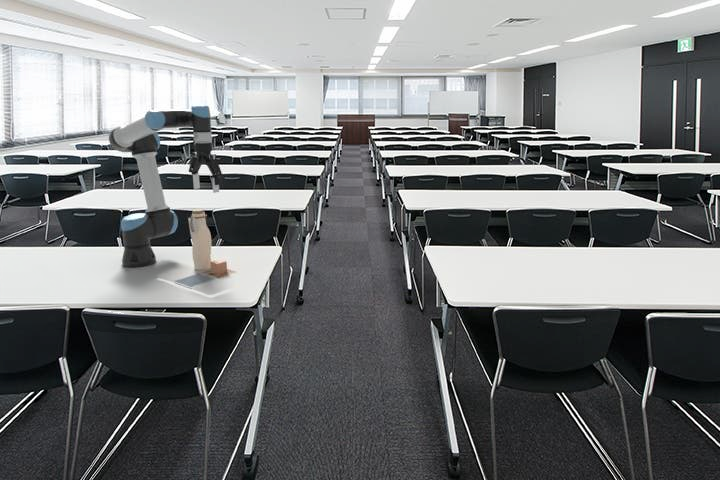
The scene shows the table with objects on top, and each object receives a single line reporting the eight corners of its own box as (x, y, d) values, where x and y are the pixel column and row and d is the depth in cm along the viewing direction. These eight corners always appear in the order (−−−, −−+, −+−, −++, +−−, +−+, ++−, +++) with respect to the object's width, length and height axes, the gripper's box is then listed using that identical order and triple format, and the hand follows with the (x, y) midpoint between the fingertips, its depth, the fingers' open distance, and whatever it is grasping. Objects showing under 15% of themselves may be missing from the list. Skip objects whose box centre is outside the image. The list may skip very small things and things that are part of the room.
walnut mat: (201, 274, 235) (201, 272, 234) (220, 268, 242) (219, 266, 242) (218, 279, 227) (218, 277, 227) (236, 273, 235) (236, 271, 235)
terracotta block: (211, 272, 234) (210, 261, 233) (220, 269, 238) (219, 259, 237) (218, 274, 231) (217, 263, 230) (227, 271, 235) (226, 261, 234)
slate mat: (174, 283, 224) (174, 281, 224) (198, 275, 233) (198, 273, 233) (191, 289, 217) (191, 286, 217) (214, 281, 226) (214, 278, 226)
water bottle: (206, 273, 236) (201, 213, 229) (188, 272, 238) (182, 212, 231) (217, 266, 246) (212, 208, 239) (199, 265, 248) (194, 207, 240)
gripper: (178, 140, 230) (182, 188, 236) (214, 144, 216) (217, 195, 221) (192, 139, 236) (196, 186, 242) (228, 143, 221) (231, 192, 227)
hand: (206, 190), depth 232 cm, fingers open, 13 cm apart
